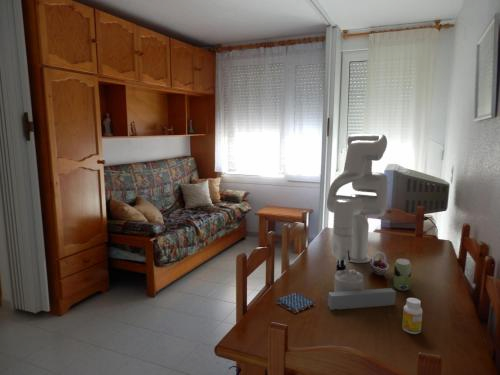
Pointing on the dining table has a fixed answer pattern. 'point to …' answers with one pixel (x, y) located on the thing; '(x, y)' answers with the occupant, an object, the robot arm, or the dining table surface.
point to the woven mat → (295, 302)
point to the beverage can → (402, 274)
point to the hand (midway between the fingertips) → (340, 274)
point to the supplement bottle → (412, 316)
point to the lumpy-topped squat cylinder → (348, 280)
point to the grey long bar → (361, 298)
